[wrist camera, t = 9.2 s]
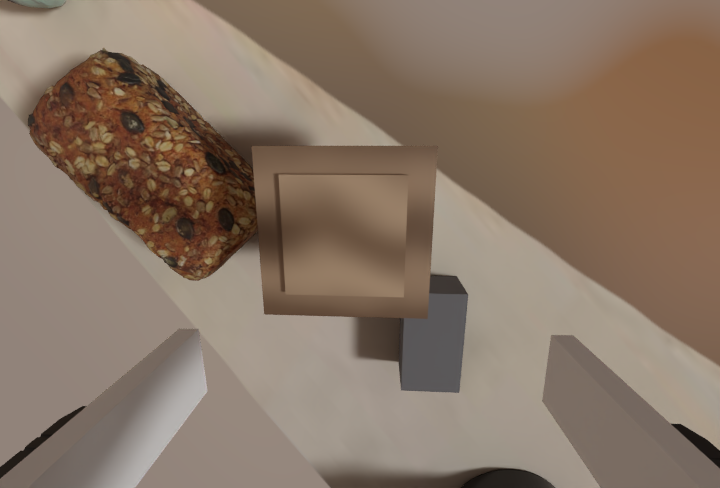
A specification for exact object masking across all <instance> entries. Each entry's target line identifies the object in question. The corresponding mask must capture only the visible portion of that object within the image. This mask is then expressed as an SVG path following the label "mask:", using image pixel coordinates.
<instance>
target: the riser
mask: <svg viewBox="0 0 720 488" xmlns="http://www.w3.org/2000/svg"><path fill="white" fill-rule="evenodd" d="M467 301H468V294H467V292H466V290H465V289H464V287H463V286H462V284H461V282H460V281H459V279H458V278H457V276H430V287H429V304H428V319H416V318H400V339H399V371H400V382H401V390H406V391H430V392H455V393H459V389H460V378H461V367H462V356H463V345H464V334H465V323H466V312H467Z"/></svg>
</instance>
